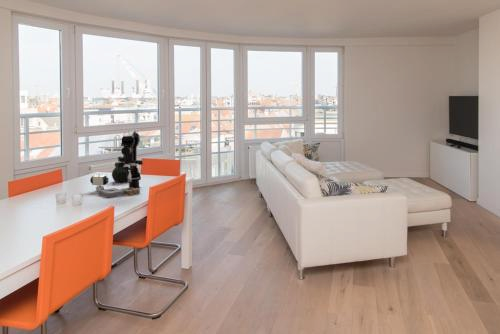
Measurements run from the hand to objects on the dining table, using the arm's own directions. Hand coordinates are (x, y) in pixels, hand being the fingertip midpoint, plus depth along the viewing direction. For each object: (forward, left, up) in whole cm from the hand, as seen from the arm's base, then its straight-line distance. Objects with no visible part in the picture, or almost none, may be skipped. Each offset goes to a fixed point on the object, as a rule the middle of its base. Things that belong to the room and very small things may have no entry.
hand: (129, 175), depth 300 cm
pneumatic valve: (+11, -23, -13) cm, 29 cm away
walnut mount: (0, 0, -13) cm, 13 cm away
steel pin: (0, 0, -4) cm, 4 cm away
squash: (-17, -43, -13) cm, 48 cm away
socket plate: (+11, -5, -13) cm, 18 cm away
